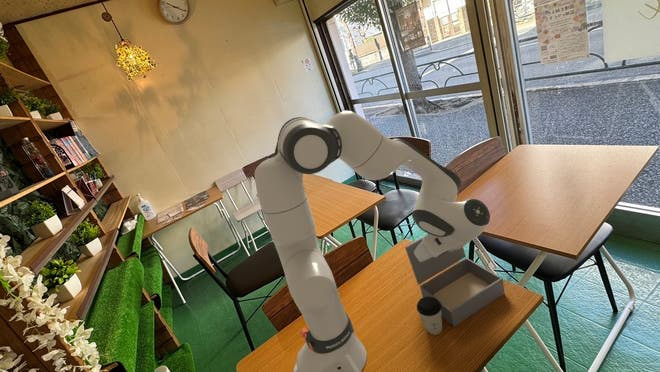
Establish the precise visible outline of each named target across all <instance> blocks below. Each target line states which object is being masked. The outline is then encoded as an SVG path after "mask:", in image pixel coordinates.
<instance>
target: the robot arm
mask: <svg viewBox="0 0 660 372" xmlns="http://www.w3.org/2000/svg"><path fill="white" fill-rule="evenodd" d="M276 141H277V142H276V145H275V150H274V153H275V156H272V157H270V158H267V159H264V160H263V161H262V162H260V164H259V165H258V166H256V168H255V170H254V181H255V188H256V193H257V198H258V201H259V205H260V208H261V211H262V215H263V217H264V221H265V223H266V225H267V229H268V231H269V234H270V236H271V237H270V238H271V240H272V242H273V244H274V246H275V249H276V251H277V255H278V257H279V259H280V263H281V266H282V269H283V273H284V276H285V281H286V283H287V284H286V285H287V287H288V292H289V293H290V295H291V297H292V299H293V301H294V303H295V304H296V306H297V308H298V310H299V311H300V313H301V315H302V316H303V319H304V321H305V323H306V325H307V327H302V328H301V329H300V334H301V336H302V338H304V339H305V343H304V345H303V346H302V347H301V348H300V350H299V351H298V353H297V356H296V363H295V365H294V368H293V372H362V370H363V369H364V367H365V366H366V362H367V357H368V356H367V349H366V347H365V346H364V344H363V343H362V342H361V341H360V339H358V337H357V335H356V334H355V331H354V326H353V324H352V321H351V318H350V316H349V315H348V314H347V312H346V311H345V308H344V305H343V303H342V300H341V298H340V294H339V291H338V287H337V284H336V280H335V277H334V275H333V272H332V269H331V268H330V266H329V264H328V263H327V261H326V258H325V257H324V254H323V253H322V250H321V248H320V245H319V242H318V236H317V232H316V223H315V220H314V216H313V213H312V208H311V206H310V203H309V199H308V196H307V193H306V190H305V186H304V182H303V181H304V180H303V179H304V175H314V174H317V173H320V172H321V171H323V170H324V169H326V168H328V166H329V165H331V164H332V163H334V162H335V161H337V160H338V159H339V160H341V161H343V162H344V163H345V164H346V165H347V166H348V167H349V168H350V169H352V171H354V172H355V173H356V174H358V176H360V177H362V178H364V179H366V180H368V181H369V180H370V181H379V180H382V179H383V180H384V179H385V178H387V177H389V176H392V174H394V173H395V172H396V171H398V169H399V168H401V167H402V166H405V167H406V169H408V170H410V171H412V172H414V173H415V174H416V175H418V176H419V177H420V178H421V188H420V191H419V193H418V196H417V199H416V200H415V204H414V207H413V209H412V213H411V217H412V219H413V222H414V223H415V225H416V226H417V227H418V228H419V229H420V230H421V231H423V232H425V233H427V234H425V235H424V236H423V238H422V237H421V238H422V242H421V243H420V244H419V245H418V246H417V248H416V249H415V251H414V254H415V256H416V258H417V259H418V260H419V261H420V262H423V261H426V260H428V259H430V258H432V257H434V258H436V257H438V256H440V255H442V254H445V253H447V252H451V251H454V250H459V249H461V248H462V247H463V248H464V247H465V246H466V245H468V244H469V243H470V242H471V241H472V240H475V239H476V238H477V237H478V236H480V235H481V234H482V233H483V232H484V231H485V230H487V229H486V228H487V227H488V226H489V224H490V222H491V221H490V220H491V214H490V211H489V209H488V207H487V204H485V203H484V202H483V201H481V200H479V199H477V198H468V199H466V200H463V201H457V198H458V195H459V193H460V190H461V188H462V186H463V185H462V181H461V178H460V177H459V175H458V174H457V173H456V172H455V171H453V170H452V169H449V168H447V167H445V166H443V165H441V164H440V163H438V162H437V161H435V160H434V159H433V158H431V157H430V156H428V155H427V154H426V153H424V152H422V151H421V150H420V149H418V148H417V147H416V146H414V145H413V144H411V143H409V141H406V140H404V139H401V138H392V139H391V138H389V137H388V136H386V135H385V134H383V133H382V132H381V131H380V130H379V128H377V127H376V126H375V125H374V124H372V123H370V122H369V121H368V120H367V119H365V118H364V117H362V116H360V115H359V114H358V113H356V112H354V111H351V110H342V111H340V112H338V113H336V114H335V115H333V116H332V117H331V118H330V119H329V121H328V122H326V123H324V124H323V123H322V124H321V123H319V122H317V121H315V120H313V119H309V118H307V117H302V116H301V117H300V116H299V117H293V118H291V119H289V120H287V121H286V122H285V123H284V124H283V125H282V126H281V128H280V130H279V133H278V137H277V140H276ZM307 328H308V329H307Z"/></svg>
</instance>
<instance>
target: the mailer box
mask: <svg viewBox="0 0 660 372" xmlns="http://www.w3.org/2000/svg"><path fill="white" fill-rule="evenodd" d="M419 287H420V292H421V298H424V297H433V298H436V299H437V300H438V301H439V302H440V303H441V315H442V319H444V320H445V321H447V323H448V324H450V325H451V326H452V327H453V328H455V327H456V326H458V325H460V324H461V323H463V322H465V321H466V320H467V319H469V318H470V317H472V316H474V315H475V314H477V312H479V311H481V310H482V309H484V308H485V307H487V306H488V305H490V304H492V303H493V302H495V301H496V300H497V299H499V298H500V297H502V296H503V295H504V294H506V293H505V286H504V278H502V277H501V276H499V275H498V274H496V273H494V272H492V271H490V270H489V269H487V268H486V267H483V266H482V265H480V264H478V263H476V262H475V261H473V260H471V259H469V258H468V257H465V258H463V259H462V260H460V262H459V261H458V262H457V264H456V263H455V264H453V265H452V266H450V267H448V268H447V269H445V270H443V271H442V272H440V273H438V274H437V275H435V276H433V278H430V280H429V279H428V280H427V281H425V282H423V283H422V284H420V286H419Z"/></svg>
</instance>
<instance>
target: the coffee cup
mask: <svg viewBox="0 0 660 372" xmlns="http://www.w3.org/2000/svg"><path fill="white" fill-rule="evenodd" d="M416 310H417V312H418V314H419V317H421V320H422V322H423V323H422V324H423V325H424V327H425V329H426V331H427V332H428V334H430V335H434V336H435V335H439V334H441V333H442V332H443V317H442V315H441V303H440V302H439V301H438V300H437V299H436V298H433V297H424V298H423V297H421V298H420V299H419V300H418V302H417V303H416Z"/></svg>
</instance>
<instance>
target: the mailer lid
mask: <svg viewBox="0 0 660 372" xmlns="http://www.w3.org/2000/svg"><path fill="white" fill-rule="evenodd" d="M423 237H424V236H423ZM423 237H421V238H418V239H417V240H415V241H413V242H411V243H409V244H408V245H405V246H404V249H405V251H406V255H407V257H408V259H409V264H410V267H411V269H412V271H413V275H414V277H415V278H414V279H415V280H416V283H417V285H422V284H424V283H425V282H427V281H429V279H432V277H433V278H434V277H435V276H437V275H439V274H440V273H442V272H444V271H446V270H447V269H449V268H451V267H452V266H454V265H456V263H459V261H460V262H461V261H462V260H464V259H466V258H467V257H466V256H467V255H466V252H465V249H464V247H462V248H461V249H459V250H454V251H451V252H447V253H445V254H442V255H440V256H438V257H436V258H434V257H432V258H430V259H428V260H426V261H423V262H420V261H419V260H418V259H417V258H416V256H415V254H414V251H415V249H416V248H417V246H418V245H419V244H420V243H421V242H422V238H423Z"/></svg>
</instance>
